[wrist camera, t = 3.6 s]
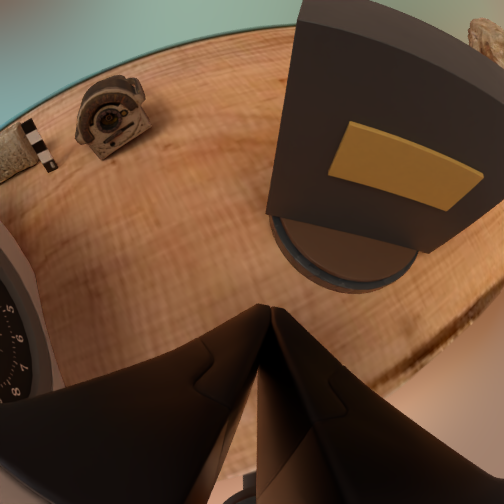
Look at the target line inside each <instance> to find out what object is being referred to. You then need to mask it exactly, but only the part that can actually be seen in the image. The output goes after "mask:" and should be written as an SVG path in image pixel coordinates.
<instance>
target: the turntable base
mask: <svg viewBox="0 0 504 504" xmlns="http://www.w3.org/2000/svg"><path fill="white" fill-rule="evenodd" d="M269 221H270V226H271V230H272V233H273V236H274V238H275V240H276V243H277V245H278V247H279V248H280V250H281V251H282V253H283V255H284V256H285V257H286V259H287V260H288V261H289V262H290V264H291V265H292V266H294V267H295V268H296V269H297V270H298V271H299V272H300V273H301V274H302V275H304V276H305V277H306V278H308V279H309V280H311V281H313V282H314V283H316V284H318V285H320V286H322V287H324V288H327V289H329V290H333V291H336V292H341V293H348V294H362V293H369V292H373V291H376V290H379V289H381V288H383V287H385V286H387V285H389V284H391V283H393V282H394V281H396V280H397V279H399V278H400V277H401V276H403V275H404V274H405V273H406V272H407V271H408V270H409V268H410V267H411V265H412V264H413V262H414V261H415V259H416V257H417V254H418V252H419V251H417V252H416V254H415V255H414V257H413V258H412V260H411V261H410V262H409V263H408V264H407V265H406V266H405V267H404V268H403V269H402V270H400V271H399V272H397V273H396V274H394V275H392V276H390V277H388V278H385V279H382V280H379V281H372V282H356V281H349V280H345V279H342V278H338V277H336V276H333V275H331V274H329V273H327V272H325V271H323V270H321V269H320V268H318V267H317V266H315V265H314V264H313V263H311V262H310V261H309V260H308V259H306V258H305V257H304V256H303V255H302V254H301V253H300V252H299V250H298V249H297V248H296V247H295V246H294V244H293V243H292V242H291V240H290V238H289V237H288V235H287V234H286V232H285V229H284V227H283V225H282V223H281V219H280V217H277V216H272V215H269Z"/></svg>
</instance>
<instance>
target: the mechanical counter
mask: <svg viewBox="0 0 504 504" xmlns="http://www.w3.org/2000/svg"><path fill="white" fill-rule="evenodd" d="M132 85H135V86H136V87H133V86H132ZM144 101H145V94H144V91H143V89H142V86H141V84H140V82H139V80H138V79H137V78H128V79H126V78H125V77H124V76H122V75H116V76H112V77H109V78H107V79H105V80H102V81H99V82H97V83H96V84H94V85H93V86H92V87H90V88H89V89H88V91H87V92H86V93H85V95H84V97H83V99H82V102H81V106H80V110H79V113H78V116H77V127H76V133H75V139H76V141H77V142H78V143H79V144H80V145H82V144H88V145H89V147H90V148H91V149H92V150H93V151H94V152H95V153H96V155H97V156H98V157H99V158H100V159H102V160H103V159H104V158H106V157H107V156H109V155H110V154H111V153H113V152H114V151H116V150H117V149H118V148H120V147H121V146H123V145H124V144H126V143H127V142H129V141H130V140H132V139H133V138H135V137H137V136H138V135H140V134H141V133H143V132H144V131H146V130H147V129H149V128H150V127H151V125H152V124H151V123H150V121H149V118H148V117H147V115H146V113H145V112H144V110H143V108H142V107H141V104H142V103H143V102H144Z"/></svg>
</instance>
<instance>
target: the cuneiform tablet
mask: <svg viewBox="0 0 504 504" xmlns="http://www.w3.org/2000/svg"><path fill="white" fill-rule="evenodd" d="M38 159H40V160H41V162H42V164H43V165H44V167H45V169H46V170H47V172H48V173H49V172H51V171H53V170H55V169H57V168H58V166H57V164H56V163H55V161H54V159H53V157H52V156H51V154H50V152H49V150H48V148H47V147H46V145H45V143H44V141H43V139H42V138H41V136H40V134H39V132H38V130H37V128H36V126H35V124H34V122H33V120H32V118H31V119H29V120H27V121H25V122H24V123H22V124H21V123H20V122H18V123H16V124H14V125H13V126H11V127H10V128H8V129H6V130H5V131H3V132H2V133H0V183H1V182H3V181H5V180H6V179H8V178H10V177H11V176H13V175H14V174H16V173H17V172H19V171H22V170H24V169H26V168H27V167H30V166H33V165H35V164H36V163H37V162H38Z"/></svg>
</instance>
